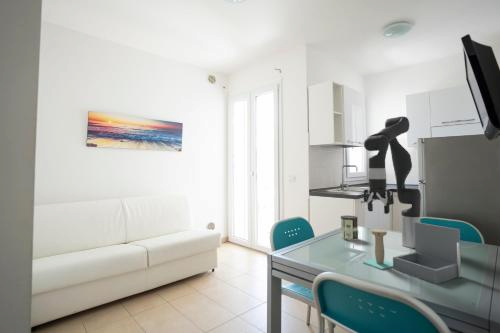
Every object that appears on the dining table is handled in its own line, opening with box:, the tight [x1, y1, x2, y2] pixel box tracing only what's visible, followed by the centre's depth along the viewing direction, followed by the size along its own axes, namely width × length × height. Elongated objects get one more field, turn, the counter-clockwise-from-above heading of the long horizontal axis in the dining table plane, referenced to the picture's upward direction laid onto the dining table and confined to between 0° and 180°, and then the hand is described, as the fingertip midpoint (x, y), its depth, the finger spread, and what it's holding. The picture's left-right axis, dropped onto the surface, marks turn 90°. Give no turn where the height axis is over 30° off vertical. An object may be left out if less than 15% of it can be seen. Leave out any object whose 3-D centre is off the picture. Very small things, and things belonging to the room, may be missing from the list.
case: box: [392, 222, 462, 284], centre depth 111 cm, size 17×19×19 cm
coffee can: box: [340, 215, 359, 241], centre depth 168 cm, size 10×10×14 cm
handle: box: [370, 229, 388, 264], centre depth 121 cm, size 5×6×15 cm
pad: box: [362, 258, 393, 271], centre depth 121 cm, size 10×10×1 cm
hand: (378, 212), depth 122 cm, fingers open, 8 cm apart
